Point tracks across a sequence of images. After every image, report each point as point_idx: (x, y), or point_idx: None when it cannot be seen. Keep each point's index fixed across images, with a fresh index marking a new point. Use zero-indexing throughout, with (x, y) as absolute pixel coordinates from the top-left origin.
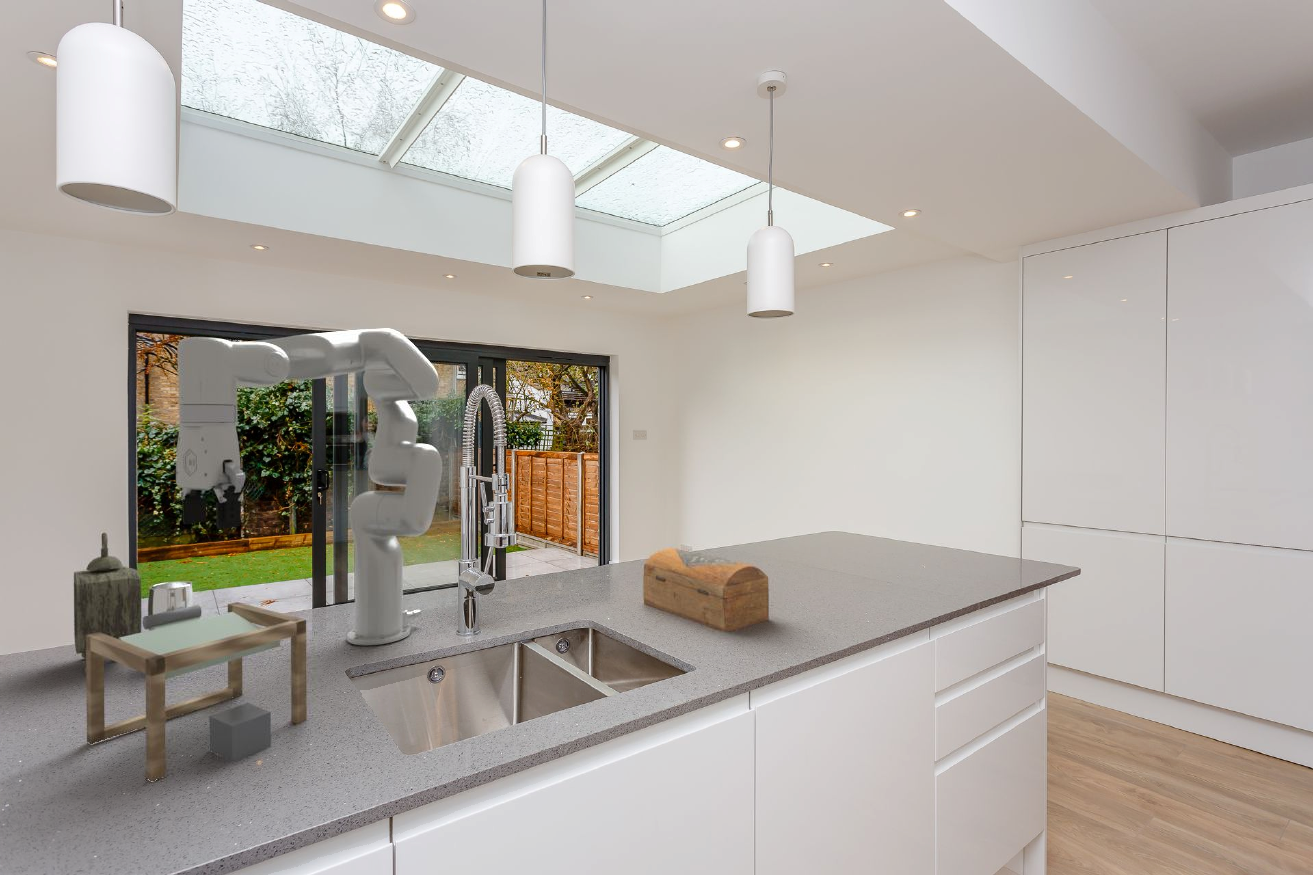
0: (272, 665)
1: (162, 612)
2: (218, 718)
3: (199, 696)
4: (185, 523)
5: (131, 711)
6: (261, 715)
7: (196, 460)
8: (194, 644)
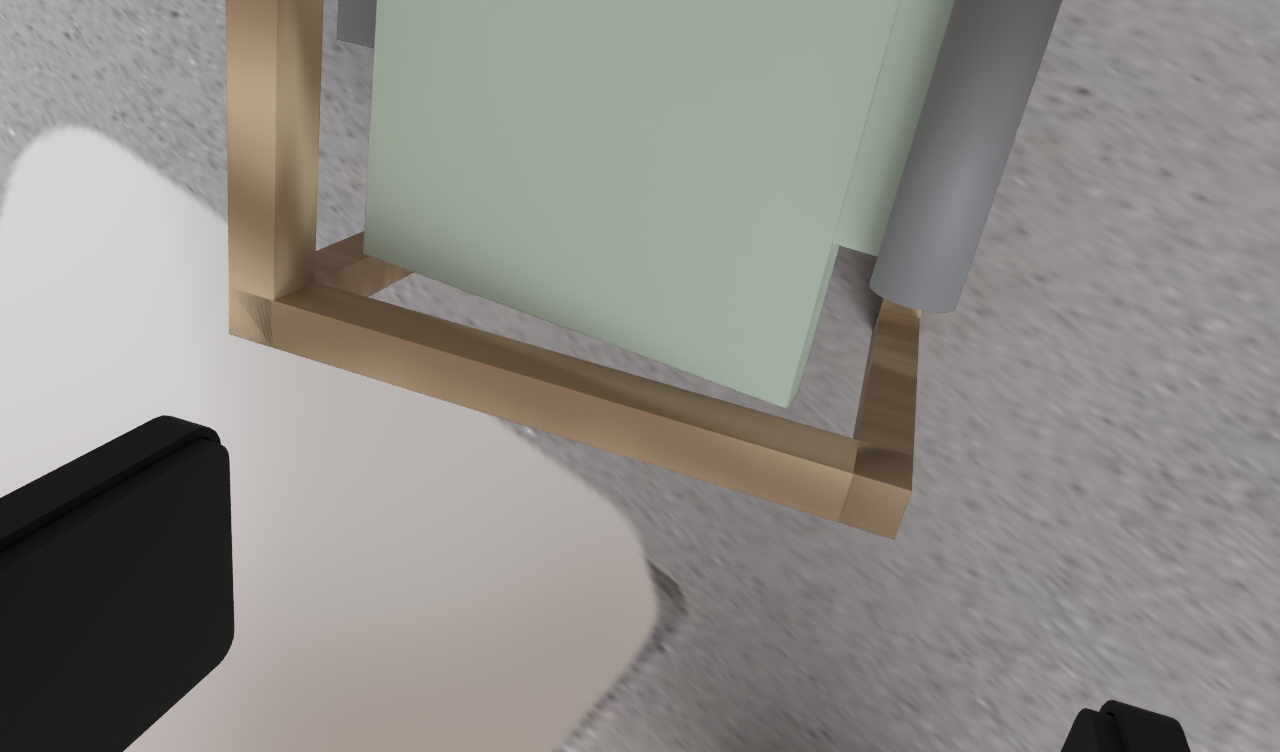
0: (1018, 595)
1: (990, 87)
2: None
3: None
4: (1108, 701)
5: (1222, 68)
6: (338, 4)
7: None
8: None
